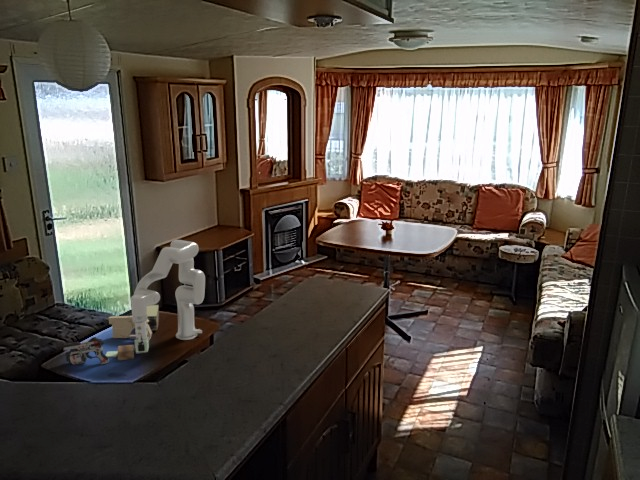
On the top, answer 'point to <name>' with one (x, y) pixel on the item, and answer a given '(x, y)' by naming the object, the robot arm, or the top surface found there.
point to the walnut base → (125, 352)
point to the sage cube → (146, 345)
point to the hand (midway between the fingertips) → (142, 347)
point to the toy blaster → (85, 351)
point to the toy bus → (153, 316)
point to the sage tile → (112, 354)
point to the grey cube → (135, 349)
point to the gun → (125, 327)
